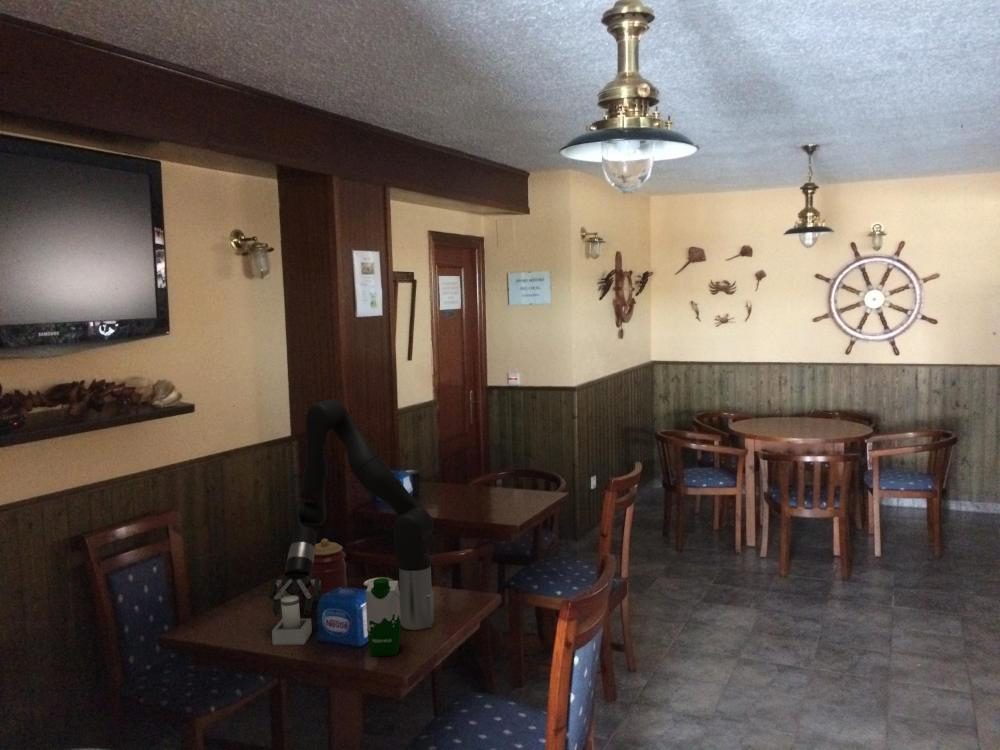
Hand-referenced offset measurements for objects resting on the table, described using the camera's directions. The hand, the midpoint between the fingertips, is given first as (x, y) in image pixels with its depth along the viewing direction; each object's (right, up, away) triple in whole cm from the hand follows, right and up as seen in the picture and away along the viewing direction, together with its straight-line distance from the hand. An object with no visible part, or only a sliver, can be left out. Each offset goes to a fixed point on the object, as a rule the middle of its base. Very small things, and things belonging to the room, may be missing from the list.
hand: (291, 613), depth 233 cm
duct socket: (0, -7, +1) cm, 7 cm away
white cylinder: (0, -7, +1) cm, 7 cm away
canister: (+2, -4, +40) cm, 40 cm away
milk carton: (+28, -7, -9) cm, 30 cm away
